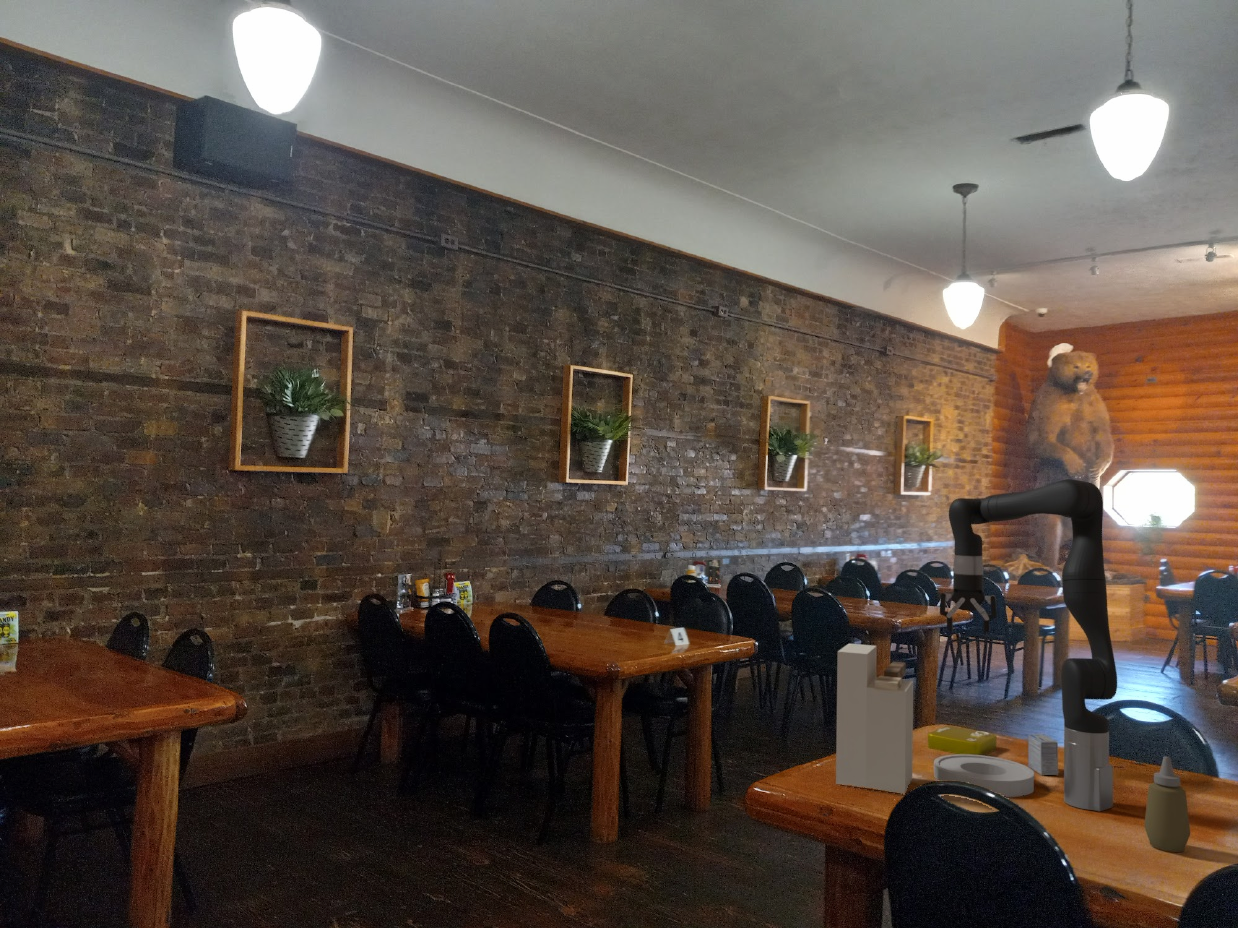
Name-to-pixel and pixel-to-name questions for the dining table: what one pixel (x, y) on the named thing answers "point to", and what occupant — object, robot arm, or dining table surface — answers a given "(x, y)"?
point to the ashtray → (986, 773)
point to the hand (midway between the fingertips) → (967, 632)
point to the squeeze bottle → (1167, 811)
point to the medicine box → (1043, 754)
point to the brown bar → (891, 677)
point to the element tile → (962, 741)
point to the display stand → (872, 725)
